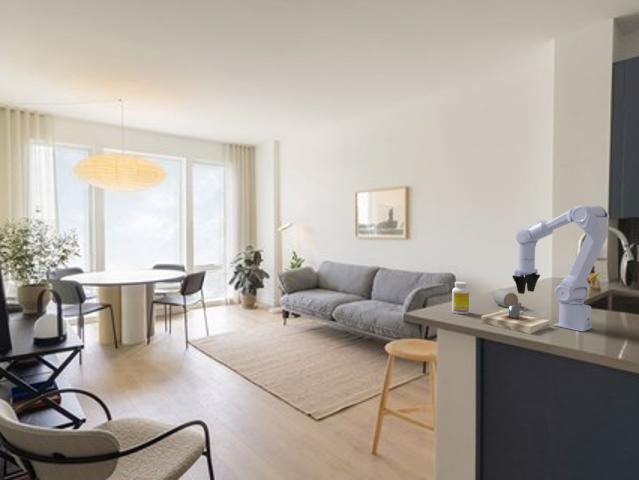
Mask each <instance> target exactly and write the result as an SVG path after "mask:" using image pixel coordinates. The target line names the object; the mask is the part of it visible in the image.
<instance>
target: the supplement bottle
mask: <svg viewBox="0 0 639 480" xmlns="http://www.w3.org/2000/svg"><path fill="white" fill-rule="evenodd" d="M469 295H470V291H469V289H468V288H467V282H466V281H465V282H464V281H455V282H454V287H453V288H452V290H451V312H452V313H453V314H455V315H468V314H469V310H470V309H469V308H470V307H469V306H470V305H469V304H470V302H469V301H470V300H469V299H470V296H469Z"/></svg>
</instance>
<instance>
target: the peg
mask: <svg viewBox="0 0 639 480" xmlns="http://www.w3.org/2000/svg"><path fill="white" fill-rule="evenodd" d="M508 309H509V318H510V319H515V320H520V311H521V307H520V306H517V305H509V308H508Z"/></svg>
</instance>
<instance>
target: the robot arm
mask: <svg viewBox="0 0 639 480" xmlns="http://www.w3.org/2000/svg"><path fill="white" fill-rule="evenodd" d="M609 218H610V214H609V213H608V211H607V210H606V209H605V208H604V207H603V206H601V205H578V206H575V207H573V208H570V209H569V210H568V211H566V212H564V213H562V214H560V215H558V216H557V217H555V218H553V219H551V220H549V221H547V220H539V221H537V223H536V224H535V225H532V226H530V225H529V226H528V227H527V229H520V230H519V231H517V232H516V235H515V240H516V242H517V243H518V268H516V269H515V271H514V274H513V275H512V279H513V281H514V282H515V286H516V289H517V292H518V293H517V294H521V295H524V294H525V292H526V289H527V292H530V293H532V292H533V293H534V291H535V289H536V285H537V283H538V280H539V278H540V277H541V274H538V272H539V271H538V268H536V266H535V265H536V247H537V243H538V241H539V240H541V239H544V238H546V237H548V236H550V235H552V234H553V233H554V230H556V229H559V228H561V227H563V226H565V225H568V224H571V223H575V224H576V225H577V226H578V227H579V228H581V230H583V232H584V233H585V237H584V240H583V242H582V244H581V247H580V250H579V251H578V253H577V256H576V258H575V260H574V262H573V265H572V267H571V270H570V272H569V274H568V275H567V276H566V277H565V278H563V279H562V280H561V282H560V284H558V285H557V286H556V288H555V289H554V295H555V298H556V299H557V301H558V304H559V305H558V322H557V323H554V324H553V326H555V327H559V328H564V329H569V330H574V331H578V332H586V331H588V330H591V329H592V328H593V326H592V322H593V317H592V316H593V309H592V306H590V305H588V304H585V300H586V299H587V298H588V297H589V288H590V283H589V282H588V281H587V280H588V278H589V276H590V274H591V272H592V270H593V268H594V265H595V264H596V262H597V259H598V257H599V256H600V253H601V251H602V248H603V247H604V244H605V241H606V240H607V237H608V236H609V230H608V229H609V228H608V220H609Z"/></svg>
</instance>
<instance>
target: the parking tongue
mask: <svg viewBox="0 0 639 480" xmlns="http://www.w3.org/2000/svg"><path fill="white" fill-rule="evenodd" d="M499 311H504V312H509V308H507V307H505V308H502V309H499V310H497V312H499ZM524 312H525V311H524V310H520V315H524V316H525V313H524Z"/></svg>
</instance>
